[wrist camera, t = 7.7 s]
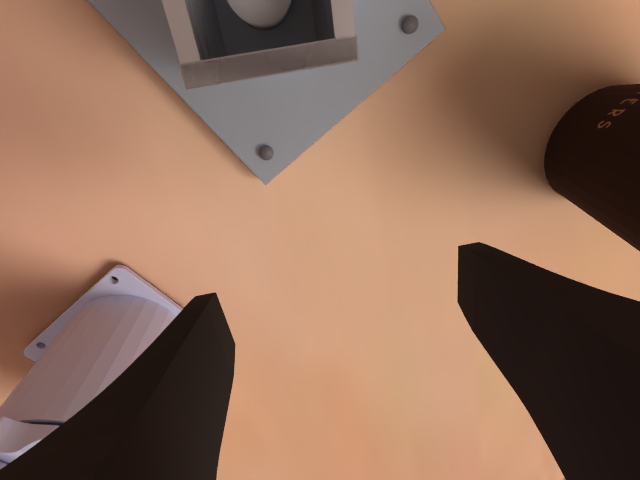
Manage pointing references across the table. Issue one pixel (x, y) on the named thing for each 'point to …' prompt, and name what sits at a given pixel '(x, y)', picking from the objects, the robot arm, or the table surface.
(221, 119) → the panel
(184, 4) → the elbow
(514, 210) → the table surface
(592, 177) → the coffee mug
